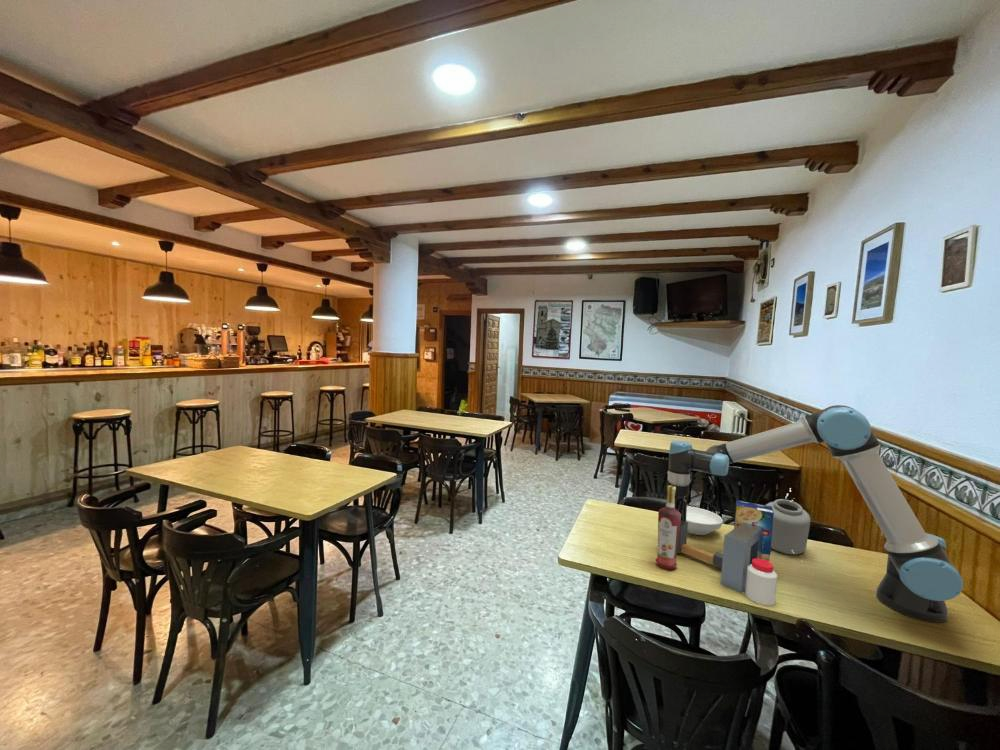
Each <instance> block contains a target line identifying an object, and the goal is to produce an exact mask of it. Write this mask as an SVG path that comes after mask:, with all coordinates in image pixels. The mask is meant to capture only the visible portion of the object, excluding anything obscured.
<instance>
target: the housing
mask: <svg viewBox="0 0 1000 750" xmlns="http://www.w3.org/2000/svg"><path fill="white" fill-rule="evenodd" d="M763 536H764V527H761V526H756V525H752V524H747V523H741V524H740V525H739V526H737V527H736V528H734V527H733V529H731V530H730V531H729V532H728V533H726V534H725V535H724V538H723V550H722V551H723V552H722V554H723V561H722V568H721V573H720V574H721V577H720V585H722V586H723V587H726V588H728V587H729V589H731V590H733V591H735V590H736V591H735V592H738V593H740V594H742V593H743V592H745V587H746V575H747V567H748V565H750V564H752V559H755V558H758V559H762V548H763Z"/></svg>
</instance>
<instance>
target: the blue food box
mask: <svg viewBox="0 0 1000 750" xmlns="http://www.w3.org/2000/svg"><path fill="white" fill-rule="evenodd" d="M734 513H735V514H734V525H733V529H734V528H736V527H737V526H739V525H740V524H741V523H747V524H752V525H756V526H761V527H764V536H763V548H762V559H763V560H766V561H768V562H770V563H771V553H772V552H771V550H772V548H771V540H772V528H773V516H774V512H773V509H772V507H771V506H766V504H759V503H753V502H748V501H743V500H739V499H736V500H735V511H734Z"/></svg>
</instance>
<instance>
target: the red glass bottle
mask: <svg viewBox="0 0 1000 750" xmlns="http://www.w3.org/2000/svg"><path fill="white" fill-rule="evenodd" d="M666 492H667V497H666V501H667V502H666V501H665V507H662V508H659V509H658V513H657V515H658V517H657V519H658V521H657V556H656V558H655V563H657V565H658V566H659V567H660V568H663V569H665V570H672V569H675V568H677V566H678V564H677V546H678V538H679V531H680V522H681V513H680V512H679V511H678V510H676V509H675V492H676V487H675V486H672V485H668V486H667V485H666Z"/></svg>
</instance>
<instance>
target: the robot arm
mask: <svg viewBox="0 0 1000 750" xmlns="http://www.w3.org/2000/svg"><path fill="white" fill-rule="evenodd" d="M810 443H816V444H822V443H824V444H825V445H826V447H827V449H828V450H829V452H830V454H831V456H832V457H833V458H835V459H838V460H840V461H841V462H842V463H843V465H844V467H845V469H846V470H847V472H848V474H849V476H850V478H851V479H852V481H853V482H854V484H855V486H856V488H857V490H858V491H859V493H860V495H861V496H862V498H863V500H864V502H865V504H866V506H867V507H868V509H869V511H870V512H871V514H872V516H873V517H874V519H875V521H876V523H877V525H878V527H879V529H880V530H881V532H882V533H883V535H884V537H885V539H886V542H885V543H884V546H883V548H884V549H885V552H886V553H887V562H886V573H885V574H884V576H883V578H882V579H881V581H880V583H879V584H878V586H877V588H876V593H875V594H876V598H877V599H878V600H879V601H880V602H881V603H882V604H884V605H885V606H886V607H888V608H891V610H892V609H893V610H894V611H897V612H899V613H901V614H903V615H906V616H909V617H912V618H915V619H918V620H923V621H926V622H932V623H945V622H947V621H948V615H949V614H948V613H949V612H948V607H947V605H946V601H950V600H953V599H955V598H957V597H958V596H959V595H960V594H961V592H962V591H963V587H964V582H963V578H962V575H961V573H960V572H959V570H958V569H956V567H955V566H954V564H953V563H952V561H951V560H950V558H949V556H948V555H947V554H946V550H947V543H946V540H945V539H944V538H942V537H939V536H937V535H934V534H931V533H927V532H925V530H924V528H923V527H922V525H921V523H920V521H919V520H918V518H917V515H915V512H914V511H913V509H912V508H911V505H910V504H909V503H908V501H907V499H906V497H905V496H904V494H903V492H902V491H901V489H900V488H899V486H898V485H897V483H896V481H895V479H894V477H893V476H892V474H891V472H890V471H889V469H888V468H887V465H886V464H885V462H884V460H883V458H882V457H881V456H880V454H879V452H878V451H879V449H880V447H881V443H880V442H879V440H878V437H877V436H876V435H875V433H874V431H873V430H872V427H871V423H870V422H869V420H868V419H867V417H866V416H865V415H864V414H862V413H861V412H860V411H858V410H856V409H854V408H853V407H851V406H848V405H841V404H837V405H831V406H828V407H825V408H824V409H821V410H819V411H817V412H814V413H811V414H808V415H805V416H803V418H802V419H801V420H799V421H795V422H792V423H789V424H785V425H783V426H779V427H775V428H771V429H769V430H765V431H763V432H758V433H755V434H752V435H748V436H745V437H744V436H743V437H741V438H738V439H735V440H732V441H727V442H725V443H722V444H721V443H720V444H718V445H717V444H716V445H715V444H714V445H712V446H710V447H708V448H707V449H706V450H701V449H695V448H693V445H692V443H691V442H688V441H683V440H672V441H671V442H670V445H669V451H668V469H667V472H666V473H667V484H666V487H667V486H668V485H672V486H675V487H676V492H675V509H676V510H678V511H679V512H680V513H681V520H682V521H686V513H687V506H688V499H689V498H688V497H689V494H690V493H689V492H690V481H691V479H690V478H691V471H696V472H701V473H706V474H711V475H713V476H723V477H724V476H727V475H728V472H729V467H730V464H735V463H737V462H741V461H744V460H749V459H752V458H756V457H760V456H764V455H767V454H771V453H774V452H779V451H783V450H787V449H790V448H795V447H798V446H802V445H805V444H810ZM666 502H667V500H666V501H665V503H666Z"/></svg>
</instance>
